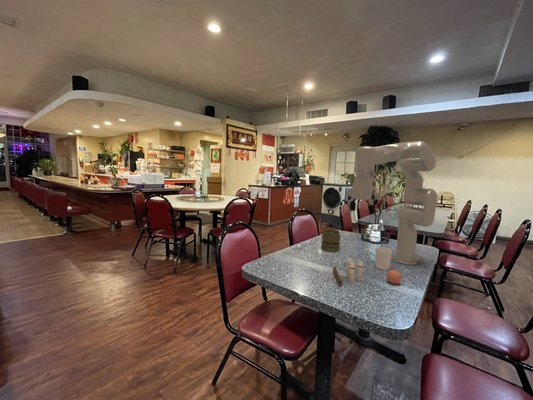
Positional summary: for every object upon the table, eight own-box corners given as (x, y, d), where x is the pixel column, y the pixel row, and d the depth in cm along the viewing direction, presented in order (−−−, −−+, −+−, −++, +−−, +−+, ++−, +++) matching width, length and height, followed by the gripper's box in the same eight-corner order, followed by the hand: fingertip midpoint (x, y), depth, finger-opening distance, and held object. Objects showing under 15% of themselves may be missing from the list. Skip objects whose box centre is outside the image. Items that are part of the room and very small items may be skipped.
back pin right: (350, 276, 115) (351, 258, 114) (351, 278, 113) (352, 259, 112) (345, 276, 115) (346, 257, 114) (346, 278, 113) (347, 259, 112)
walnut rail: (335, 271, 120) (335, 267, 120) (341, 286, 104) (342, 281, 104) (332, 271, 120) (333, 266, 120) (339, 286, 104) (339, 280, 104)
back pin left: (352, 281, 110) (354, 262, 109) (354, 283, 108) (355, 263, 107) (347, 280, 110) (349, 261, 109) (348, 282, 108) (350, 263, 107)
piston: (340, 230, 159) (340, 234, 148) (339, 248, 160) (339, 253, 149) (323, 228, 162) (321, 232, 151) (322, 246, 163) (320, 251, 152)
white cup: (381, 271, 123) (383, 252, 122) (370, 265, 131) (372, 247, 130) (394, 269, 125) (395, 251, 124) (383, 264, 133) (384, 246, 132)
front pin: (361, 279, 112) (362, 260, 111) (362, 281, 110) (364, 262, 109) (356, 279, 112) (357, 260, 111) (357, 281, 110) (358, 262, 109)
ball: (397, 280, 112) (398, 268, 112) (403, 286, 106) (404, 273, 106) (383, 279, 113) (385, 267, 112) (389, 285, 107) (390, 272, 106)
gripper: (388, 175, 104) (384, 214, 106) (353, 174, 118) (350, 209, 120) (378, 175, 100) (374, 215, 102) (343, 174, 114) (341, 210, 116)
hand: (361, 212), depth 111 cm, fingers open, 9 cm apart
